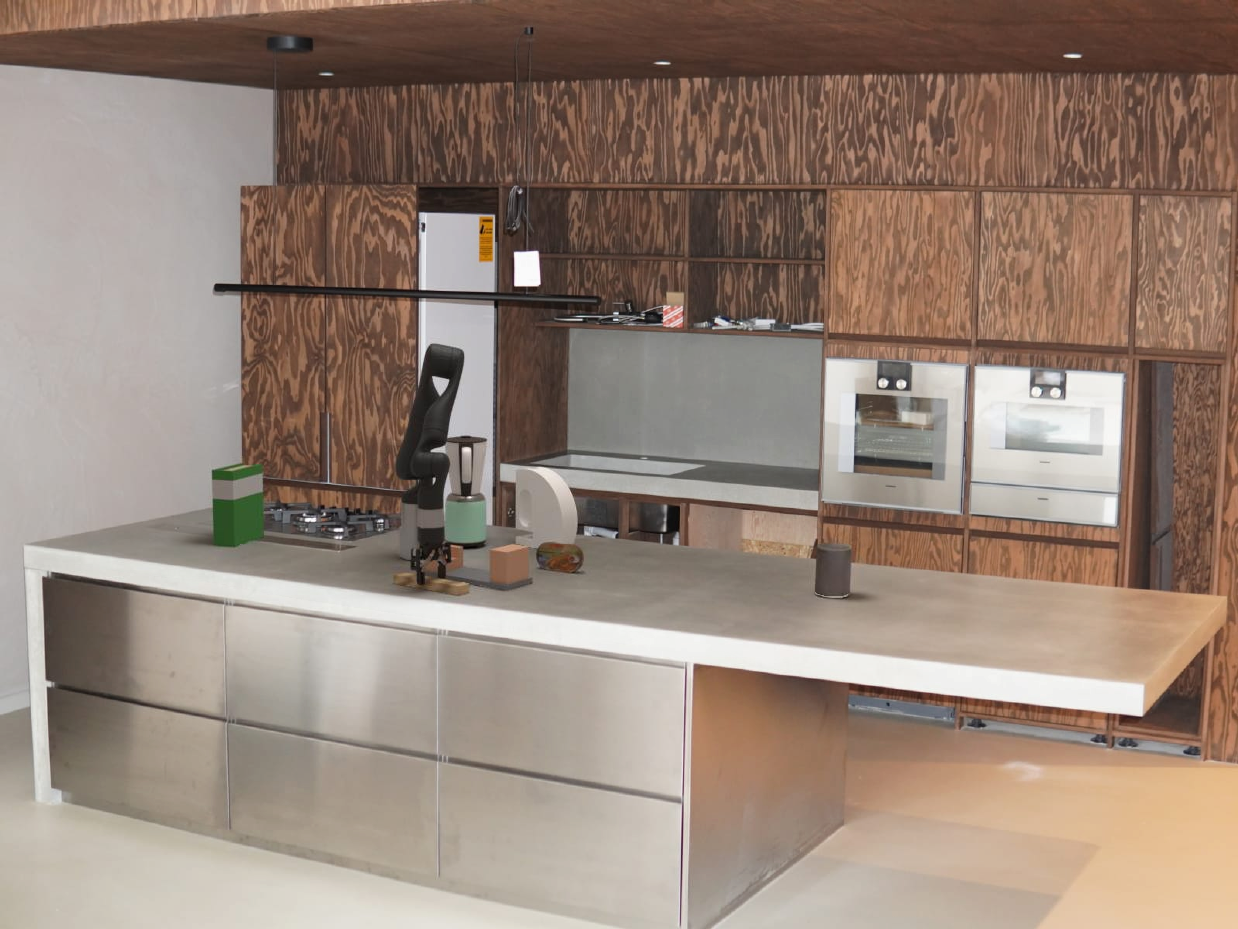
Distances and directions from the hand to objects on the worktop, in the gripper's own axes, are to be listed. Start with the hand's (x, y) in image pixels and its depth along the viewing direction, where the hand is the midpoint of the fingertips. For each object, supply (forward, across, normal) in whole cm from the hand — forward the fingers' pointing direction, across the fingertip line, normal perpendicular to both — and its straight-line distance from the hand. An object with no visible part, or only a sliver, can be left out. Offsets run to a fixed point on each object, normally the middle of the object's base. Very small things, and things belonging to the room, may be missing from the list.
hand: (431, 582), depth 388 cm
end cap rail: (+2, -16, +3) cm, 16 cm away
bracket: (+2, -64, -8) cm, 65 cm away
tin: (+2, -40, +15) cm, 43 cm away
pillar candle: (+2, -60, +93) cm, 110 cm away
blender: (+2, -51, -30) cm, 59 cm away
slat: (+2, 0, 0) cm, 2 cm away
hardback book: (+1, -13, -92) cm, 93 cm away
